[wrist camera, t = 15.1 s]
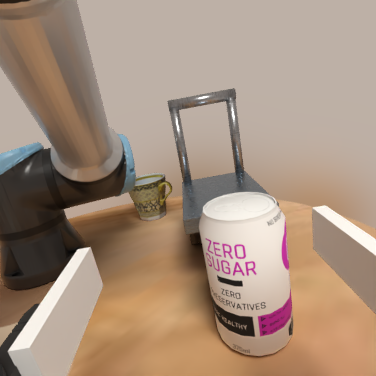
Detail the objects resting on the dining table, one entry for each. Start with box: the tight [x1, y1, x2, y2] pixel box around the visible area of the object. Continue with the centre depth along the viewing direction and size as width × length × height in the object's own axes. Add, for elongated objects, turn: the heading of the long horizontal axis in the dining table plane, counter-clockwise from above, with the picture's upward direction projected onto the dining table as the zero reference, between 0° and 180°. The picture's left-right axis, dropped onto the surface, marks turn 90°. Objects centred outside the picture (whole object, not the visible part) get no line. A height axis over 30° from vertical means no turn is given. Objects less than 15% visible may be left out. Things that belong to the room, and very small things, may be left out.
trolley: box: [168, 88, 279, 244], centre depth 40 cm, size 22×12×26 cm, turn 2°
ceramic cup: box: [129, 173, 172, 221], centre depth 65 cm, size 13×10×10 cm
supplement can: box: [199, 192, 293, 356], centre depth 27 cm, size 8×8×15 cm
